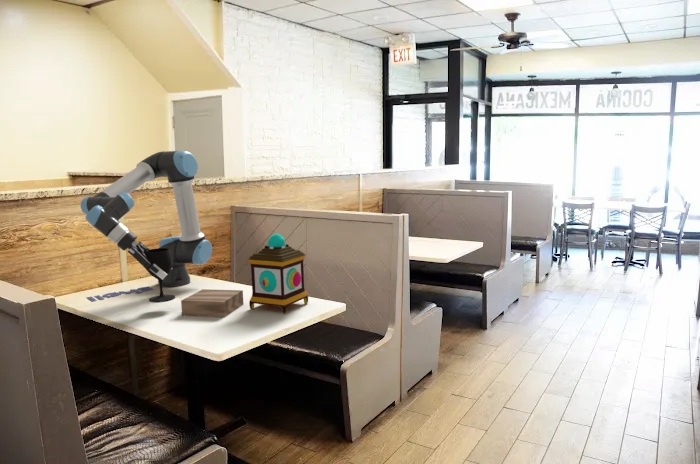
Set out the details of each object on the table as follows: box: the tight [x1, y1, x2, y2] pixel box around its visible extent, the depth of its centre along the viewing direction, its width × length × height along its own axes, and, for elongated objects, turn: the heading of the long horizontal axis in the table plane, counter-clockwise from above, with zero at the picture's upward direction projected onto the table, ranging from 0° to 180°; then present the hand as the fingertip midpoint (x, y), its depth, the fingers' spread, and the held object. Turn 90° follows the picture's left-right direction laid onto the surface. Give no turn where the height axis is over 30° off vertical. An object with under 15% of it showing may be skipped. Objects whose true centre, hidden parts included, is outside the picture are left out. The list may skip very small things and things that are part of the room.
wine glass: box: [146, 247, 176, 303], centre depth 219 cm, size 10×10×20 cm
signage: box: [86, 286, 154, 303], centre depth 251 cm, size 28×1×10 cm
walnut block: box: [180, 288, 244, 318], centre depth 220 cm, size 18×18×6 cm
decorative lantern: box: [247, 233, 309, 315], centre depth 221 cm, size 20×20×30 cm
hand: (167, 274), depth 219 cm, fingers closed on wine glass, 10 cm apart
